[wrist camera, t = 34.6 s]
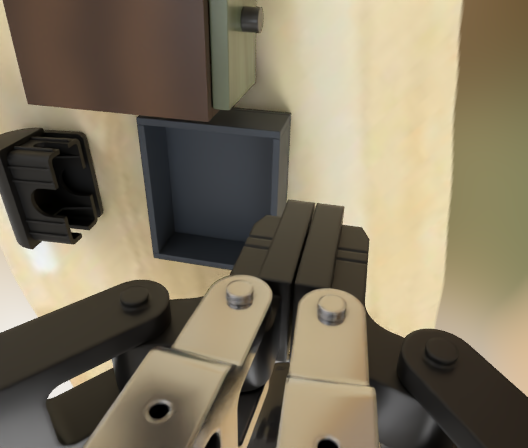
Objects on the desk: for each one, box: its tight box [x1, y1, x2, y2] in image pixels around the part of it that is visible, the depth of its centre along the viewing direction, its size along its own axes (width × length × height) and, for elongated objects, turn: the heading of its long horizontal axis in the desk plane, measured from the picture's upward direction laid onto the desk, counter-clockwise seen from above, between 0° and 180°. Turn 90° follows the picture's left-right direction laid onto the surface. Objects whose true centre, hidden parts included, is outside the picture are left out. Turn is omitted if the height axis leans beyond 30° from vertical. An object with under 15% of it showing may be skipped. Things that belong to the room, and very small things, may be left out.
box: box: [136, 108, 291, 270], centre depth 42 cm, size 14×12×5 cm
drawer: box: [208, 0, 263, 110], centre depth 33 cm, size 14×10×7 cm
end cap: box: [0, 128, 103, 249], centre depth 45 cm, size 10×7×7 cm
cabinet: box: [3, 0, 219, 122], centre depth 33 cm, size 14×12×9 cm
